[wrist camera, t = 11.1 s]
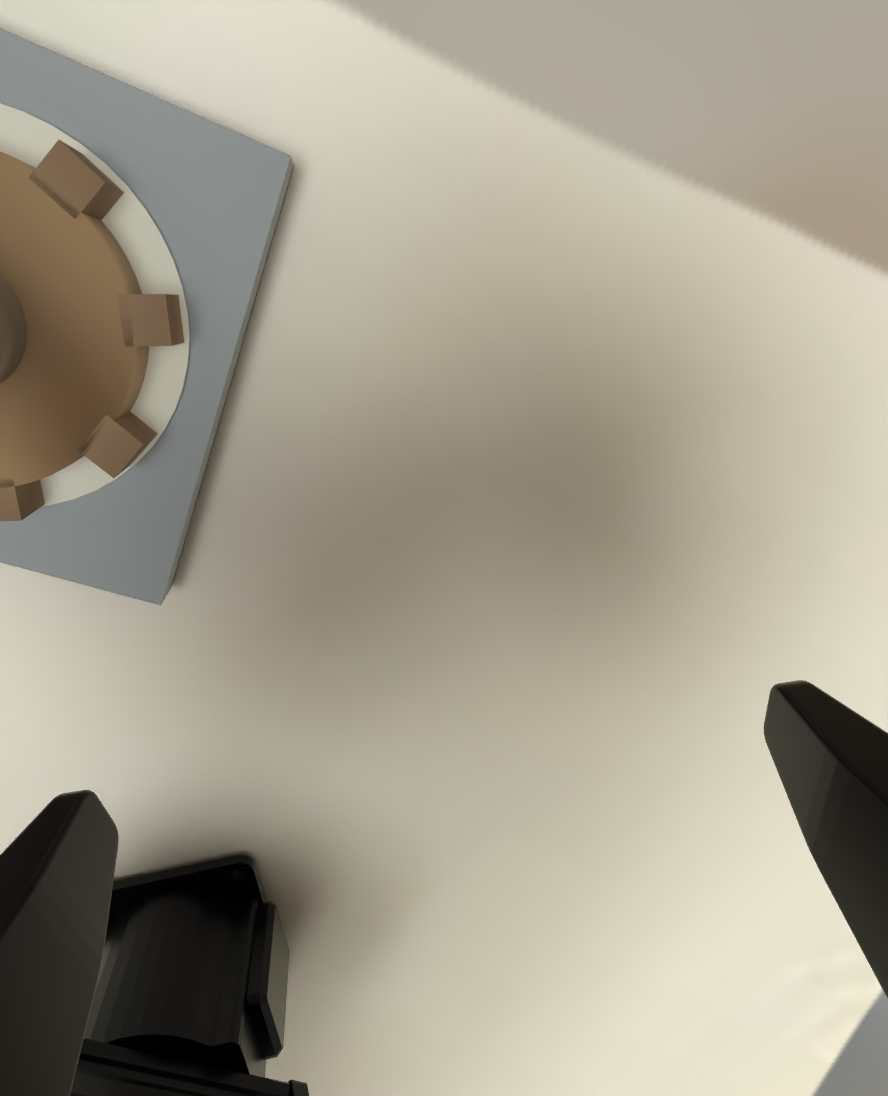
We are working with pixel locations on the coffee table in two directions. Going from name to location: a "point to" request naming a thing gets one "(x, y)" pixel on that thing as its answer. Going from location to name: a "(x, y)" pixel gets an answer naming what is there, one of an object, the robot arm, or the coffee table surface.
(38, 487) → the walnut gear
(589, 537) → the coffee table surface
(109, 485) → the gear board
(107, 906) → the robot arm
